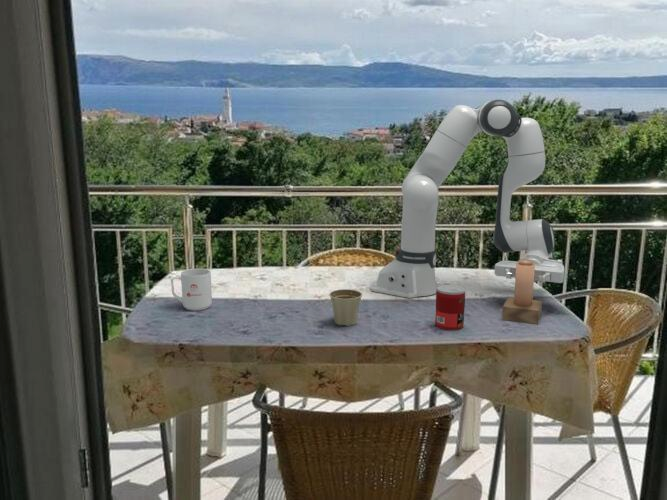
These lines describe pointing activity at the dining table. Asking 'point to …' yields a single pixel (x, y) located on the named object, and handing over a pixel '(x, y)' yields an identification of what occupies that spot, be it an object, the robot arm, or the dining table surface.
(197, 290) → the mug
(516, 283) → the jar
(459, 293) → the canned food
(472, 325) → the dining table surface
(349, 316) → the flower pot
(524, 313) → the pedestal
